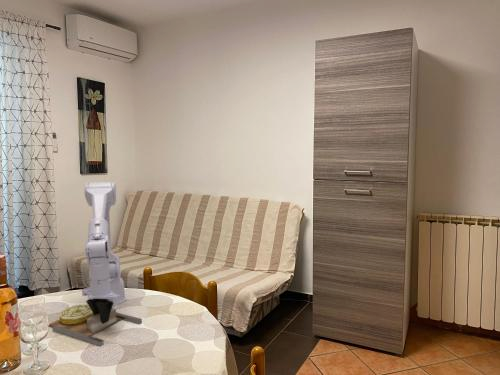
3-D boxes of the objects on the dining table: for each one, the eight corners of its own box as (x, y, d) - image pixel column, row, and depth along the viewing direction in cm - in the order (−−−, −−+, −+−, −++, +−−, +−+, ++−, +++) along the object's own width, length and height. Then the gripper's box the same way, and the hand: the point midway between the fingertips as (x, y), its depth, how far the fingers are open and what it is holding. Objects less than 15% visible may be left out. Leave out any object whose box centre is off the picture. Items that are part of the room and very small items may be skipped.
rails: (96, 311, 126) (96, 307, 126) (142, 323, 117) (141, 318, 116) (52, 331, 112) (52, 327, 112) (100, 347, 102) (100, 342, 102)
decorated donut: (100, 312, 125) (99, 301, 125) (88, 327, 115) (87, 316, 114) (69, 313, 125) (68, 302, 124) (54, 328, 114) (53, 317, 114)
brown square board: (48, 326, 116) (46, 312, 115) (83, 310, 127) (82, 297, 127) (86, 338, 107) (85, 323, 107) (121, 320, 119) (120, 306, 118)
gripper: (72, 279, 112) (75, 322, 113) (105, 286, 105) (108, 331, 106) (91, 272, 118) (94, 313, 119) (124, 278, 111) (126, 321, 113)
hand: (102, 321), depth 113 cm, fingers closed on brown square board, 2 cm apart
